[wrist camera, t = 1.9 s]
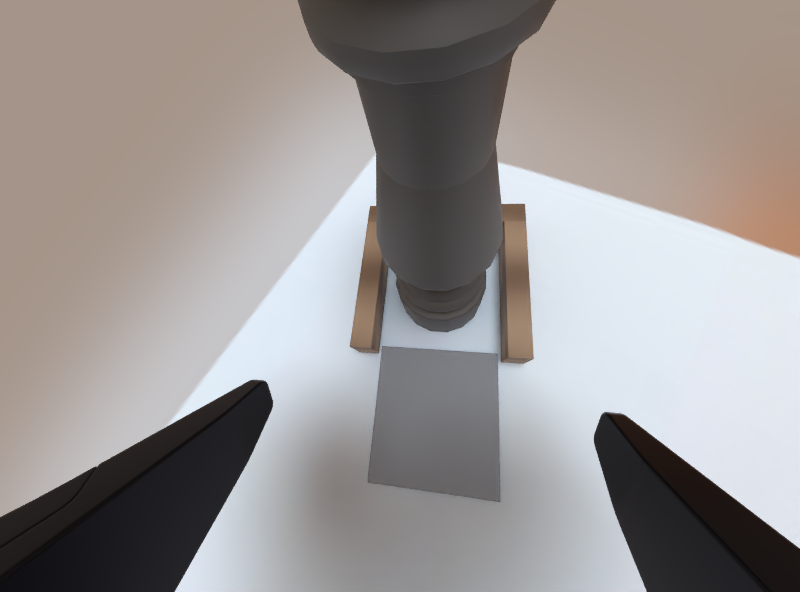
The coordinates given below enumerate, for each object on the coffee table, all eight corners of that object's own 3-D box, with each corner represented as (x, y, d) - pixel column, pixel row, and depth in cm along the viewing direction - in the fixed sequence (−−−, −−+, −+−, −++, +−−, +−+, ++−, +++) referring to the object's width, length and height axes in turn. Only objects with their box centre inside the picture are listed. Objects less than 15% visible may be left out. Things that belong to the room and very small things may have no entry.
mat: (499, 500, 18) (500, 501, 18) (368, 481, 20) (367, 482, 19) (496, 354, 21) (497, 353, 21) (383, 346, 22) (382, 346, 22)
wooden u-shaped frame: (523, 363, 21) (533, 359, 18) (359, 351, 23) (349, 346, 20) (517, 222, 24) (524, 203, 22) (376, 223, 26) (370, 206, 24)
